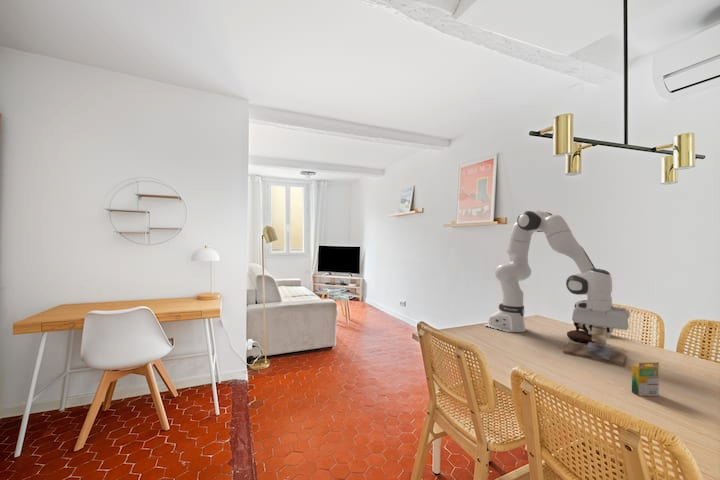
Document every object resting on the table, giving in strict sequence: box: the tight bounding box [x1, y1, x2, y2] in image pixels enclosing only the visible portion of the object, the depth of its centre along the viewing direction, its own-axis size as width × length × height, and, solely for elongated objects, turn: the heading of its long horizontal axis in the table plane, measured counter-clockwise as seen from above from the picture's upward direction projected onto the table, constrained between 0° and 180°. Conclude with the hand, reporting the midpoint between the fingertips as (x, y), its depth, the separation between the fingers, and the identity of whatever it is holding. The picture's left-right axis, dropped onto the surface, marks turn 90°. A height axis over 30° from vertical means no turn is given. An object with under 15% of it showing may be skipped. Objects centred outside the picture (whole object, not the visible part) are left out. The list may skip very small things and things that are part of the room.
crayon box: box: [631, 361, 660, 397], centre depth 109 cm, size 7×3×12 cm, turn 92°
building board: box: [562, 341, 626, 367], centre depth 146 cm, size 22×16×11 cm
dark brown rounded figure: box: [566, 302, 595, 344], centre depth 165 cm, size 15×15×20 cm
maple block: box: [592, 325, 607, 344], centre depth 141 cm, size 5×5×6 cm
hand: (599, 335), depth 141 cm, fingers closed on maple block, 5 cm apart
